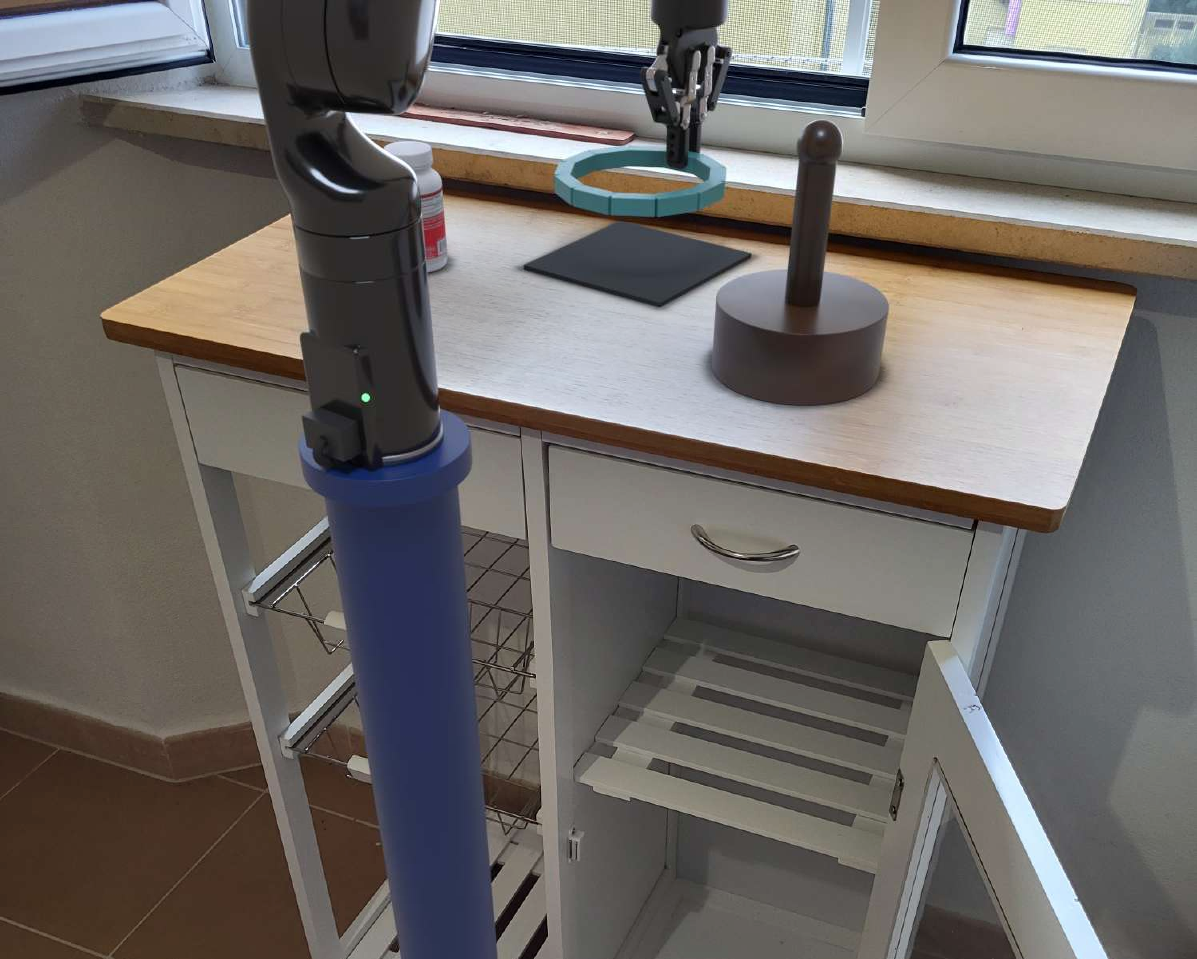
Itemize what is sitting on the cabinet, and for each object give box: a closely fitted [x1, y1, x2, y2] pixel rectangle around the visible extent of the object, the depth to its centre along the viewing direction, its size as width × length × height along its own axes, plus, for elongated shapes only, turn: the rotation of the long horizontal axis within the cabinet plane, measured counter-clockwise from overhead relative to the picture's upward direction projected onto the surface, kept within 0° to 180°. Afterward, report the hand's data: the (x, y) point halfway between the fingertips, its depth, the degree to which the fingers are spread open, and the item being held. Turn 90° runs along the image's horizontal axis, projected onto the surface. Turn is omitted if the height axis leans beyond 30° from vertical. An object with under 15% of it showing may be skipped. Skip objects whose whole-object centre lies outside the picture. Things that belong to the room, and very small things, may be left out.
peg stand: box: [711, 118, 890, 406], centre depth 102 cm, size 15×15×20 cm
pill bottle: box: [383, 140, 448, 273], centre depth 123 cm, size 6×6×11 cm
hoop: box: [553, 145, 727, 218], centre depth 122 cm, size 17×17×2 cm
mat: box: [522, 220, 753, 308], centre depth 127 cm, size 17×17×1 cm
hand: (682, 163), depth 127 cm, fingers closed on hoop, 1 cm apart
